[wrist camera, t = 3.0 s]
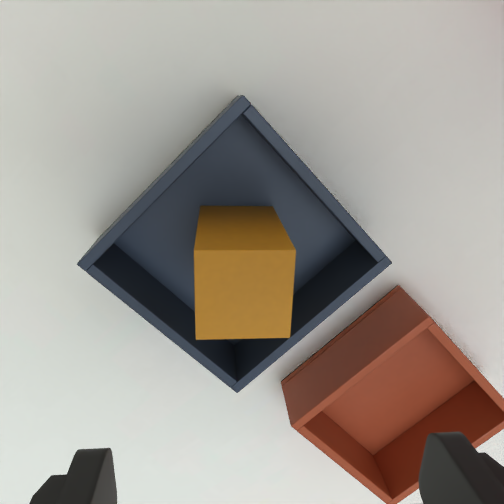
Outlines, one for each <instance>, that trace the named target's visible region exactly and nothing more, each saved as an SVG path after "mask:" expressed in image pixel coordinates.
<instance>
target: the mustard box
mask: <svg viewBox="0 0 504 504" xmlns="http://www.w3.org/2000/svg"><path fill="white" fill-rule="evenodd" d="M295 260H296V249H295V247H294V246H293V244H292V242H291V240H290V238H289V236H288V234H287V232H286V230H285V229H284V227H283V225H282V223H281V221H280V219H279V217H278V215H277V213H276V212H275V210H274V208H273V206H200V211H199V218H198V224H197V231H196V238H195V245H194V289H195V334H196V340H207V339H256V338H290V333H291V318H292V304H293V289H294V275H295Z"/></svg>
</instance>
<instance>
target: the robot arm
mask: <svg viewBox="0 0 504 504" xmlns="http://www.w3.org/2000/svg"><path fill="white" fill-rule="evenodd" d="M418 482H419V490H420V494H421V498H422V501H423V503H424V504H504V467H503V466H502V465H500V464H499V463H498V462H497V461H495V460H494V459H493V458H491V457H490V456H489V455H488V454H486V453H478V452H477V451H476V449H475V448H474V447H473V445H472V444H471V443H470V441H469V440H468V439H467V437H466V436H465V435H464V434H463V433H461V432H439V433H430V434H429V435H428V436H427V439H426V444H425V448H424V453H423V458H422V463H421V467H420V472H419V479H418ZM30 504H117V490H116V481H115V473H114V465H113V457H112V451H111V449H110V448H100V449H80V450H77V452H76V453H75V455H74V458H73V460H72V463H71V465H70V468H69V470H68V473H67V475H51V476H50V478H49V479H48V480H47V481H46V482H45V483H44V484H43V485H42V486H41V488H40V489H39V490H38V491H37V492H36V493H35V494H34V495H33V497H32V499H31V501H30Z"/></svg>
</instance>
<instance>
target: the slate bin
mask: <svg viewBox="0 0 504 504" xmlns="http://www.w3.org/2000/svg"><path fill="white" fill-rule="evenodd" d="M200 206H273V208H274V210H275V212H276V213H277V215H278V217H279V219H280V221H281V223H282V225H283V227H284V229H285V230H286V232H287V234H288V236H289V238H290V240H291V242H292V244H293V246H294V247H295V249H296V260H295V275H294V289H293V304H292V318H291V333H290V338H256V339H207V340H196V334H195V289H194V245H195V238H196V231H197V224H198V218H199V211H200ZM390 264H392V262H391V261H390V259H389V258H388V257H387V256H386V255H385V254H384V253H383V252H382V250H381V249H380V248H379V247H378V246H377V245H376V244H375V243H374V241H373V240H372V239H371V238H370V237H369V236H368V235H367V234H366V232H365V231H364V230H363V229H362V228H361V227H360V226H359V225H358V223H357V222H356V221H355V220H354V219H353V218H352V217H351V216H350V214H349V213H348V212H347V211H346V210H345V209H344V208H343V207H342V205H341V204H340V203H339V202H338V201H337V200H336V199H335V198H334V197H333V195H332V194H331V193H330V192H329V191H328V190H327V189H326V188H325V186H324V185H323V184H322V183H321V182H320V181H319V180H318V179H317V177H316V176H315V175H314V174H313V173H312V172H311V171H310V170H309V168H308V167H307V166H306V165H305V164H304V163H303V162H302V161H301V159H300V158H299V157H298V156H297V155H296V154H295V153H294V152H293V150H292V149H291V148H290V147H289V146H288V145H287V144H286V143H285V141H284V140H283V139H282V138H281V137H280V136H279V135H278V134H277V132H276V131H275V130H274V129H273V128H272V127H271V126H270V125H269V123H268V122H267V121H266V120H265V119H264V118H263V117H262V116H261V114H260V113H259V112H258V111H257V110H256V109H255V108H254V107H253V105H251V103H250V102H249V101H248V100H247V99H246V98H245V96H243V95H240V96H237V97H236V98H235V99H234V100H233V101H232V102H231V103H230V104H229V105H228V106H227V107H226V108H225V109H224V110H223V111H222V112H221V113H220V114H219V115H218V116H217V117H216V118H215V119H214V120H213V121H212V122H211V123H210V124H209V126H208V127H207V128H206V129H205V130H204V131H203V132H202V133H201V134H200V135H199V136H198V137H197V138H196V139H195V140H194V141H193V142H192V143H191V144H190V145H189V146H188V147H187V148H186V149H185V150H184V151H183V152H182V153H181V154H180V155H179V156H178V157H177V158H176V159H175V160H174V161H173V162H172V163H171V164H170V165H169V166H168V167H167V168H166V169H165V170H164V172H163V173H162V174H161V175H160V176H159V177H158V178H157V179H156V180H155V181H154V182H153V183H152V184H151V185H150V186H149V187H148V188H147V189H146V190H145V191H144V192H143V193H142V194H141V195H140V196H139V197H138V198H137V199H136V200H135V201H134V202H133V203H132V204H131V205H130V206H129V207H128V208H127V209H126V210H125V211H124V212H123V213H122V214H121V215H120V217H119V218H118V219H117V220H116V221H115V222H114V223H113V224H112V225H111V226H110V227H109V228H108V229H107V230H106V231H105V232H104V233H103V234H102V235H101V236H100V237H99V238H98V239H97V241H96V242H95V243H94V244H93V245H92V246H91V248H90V249H89V250H88V251H87V252H86V254H85V255H84V256H83V257H82V258H81V260H80V261H79V262H78V263H77V265H78V266H80V267H81V268H82V269H83V270H85V271H86V270H87V271H86V272H87V273H88V274H89V275H91V276H92V277H93V278H94V279H96V280H97V281H98V282H99V283H101V284H102V285H103V286H104V287H106V288H107V289H108V290H109V291H111V292H112V293H113V294H114V295H116V296H117V297H118V298H119V299H121V300H122V301H123V302H124V303H126V304H127V305H128V306H129V307H130V308H132V309H133V310H134V311H135V312H137V313H138V314H139V315H140V316H142V317H143V318H144V319H145V320H147V321H148V322H149V323H150V324H152V325H153V326H154V327H155V328H157V329H158V330H159V331H160V332H162V333H163V334H164V335H165V336H167V337H168V338H169V339H170V340H172V341H173V342H174V343H175V344H177V345H178V346H179V347H180V348H182V349H183V350H184V351H185V352H187V353H188V354H189V355H190V356H192V357H193V358H194V359H195V360H197V361H198V362H199V363H200V364H202V365H203V366H204V367H205V368H207V369H208V370H209V371H210V372H212V373H213V374H214V375H215V376H217V377H218V378H219V379H220V380H222V381H223V382H224V383H225V384H227V385H228V386H229V387H231V388H232V389H233V390H234V391H235V392H237V393H238V392H239V391H240V390H241V389H243V388H244V387H245V386H246V385H247V384H249V383H250V382H251V381H252V380H253V379H255V378H256V377H257V376H258V375H259V374H261V373H262V372H263V371H264V370H265V369H266V368H268V367H269V366H270V365H271V364H272V363H274V362H275V361H276V360H277V359H278V358H280V357H281V356H282V355H283V354H284V353H286V352H287V351H288V350H289V349H290V348H291V347H293V346H294V345H295V344H296V343H297V342H299V341H300V340H301V339H302V338H303V337H305V336H306V335H307V334H308V333H309V332H311V331H312V330H313V329H314V328H315V327H316V326H318V325H319V324H320V323H321V322H322V321H324V320H325V319H326V318H327V317H328V316H330V315H331V314H332V313H333V312H334V311H336V310H337V309H338V308H339V307H340V306H342V305H343V304H344V303H345V302H346V301H347V300H349V299H350V298H351V297H352V296H353V295H355V294H356V293H357V292H358V291H359V290H361V289H362V288H363V287H364V286H365V285H367V284H368V283H369V282H370V281H371V280H372V279H374V278H375V277H376V276H377V275H378V274H380V273H381V272H382V271H383V270H384V269H386V268H387V267H388V266H389V265H390Z"/></svg>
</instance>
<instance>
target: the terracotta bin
mask: <svg viewBox="0 0 504 504" xmlns="http://www.w3.org/2000/svg"><path fill="white" fill-rule="evenodd" d="M281 385H282V389H283V393H284V398H285V402H286V406H287V411H288V415H289V420H290V424H291V426H292V427H293V428H294V429H295V430H297V431H298V432H299V433H300V434H301V435H303V436H304V437H305V438H306V439H308V440H309V441H310V442H311V443H312V444H314V445H315V446H316V447H317V448H319V449H320V450H321V451H322V452H324V453H325V454H326V455H327V456H328V457H330V458H331V459H332V460H333V461H335V462H336V463H337V464H338V465H340V466H341V467H342V468H343V469H344V470H346V471H347V472H348V473H349V474H351V475H352V476H353V477H354V478H355V479H357V480H358V481H359V482H360V483H362V484H363V485H364V486H365V487H367V488H368V489H369V490H370V491H371V492H373V493H374V494H375V495H376V496H378V497H379V498H380V499H381V500H383V501H384V502H385V503H387V504H397V503H398V502H400V501H401V500H403V499H404V498H406V497H407V496H408V495H410V494H411V493H413V492H414V491H416V490H417V489H418V488H419V482H418V479H419V472H420V467H421V463H422V458H423V453H424V448H425V444H426V439H427V436H428V435H429V434H430V433H439V432H461V433H463V434H464V435H465V436H466V437H467V439H468V440H469V441H470V443H471V444H472V445H473V447H474V448H477V447H478V446H480V445H481V444H482V443H484V442H485V441H487V440H488V439H490V438H491V437H492V436H494V435H495V434H497V433H498V432H500V431H501V430H502V429H504V398H503V397H502V396H501V395H500V394H499V393H498V392H497V391H496V389H495V388H494V387H493V386H492V385H491V384H490V383H489V382H488V381H487V379H486V378H485V377H484V376H483V375H482V374H481V373H480V372H479V371H478V369H477V368H476V367H475V366H474V365H473V364H472V363H471V362H470V361H469V359H468V358H467V357H466V356H465V355H464V354H463V353H462V352H461V351H460V349H459V348H458V347H457V346H456V345H455V344H454V343H453V342H452V341H451V340H450V338H449V337H448V336H447V335H446V334H445V333H444V332H443V331H442V330H441V328H440V327H439V326H438V325H437V324H436V323H435V322H434V321H433V320H432V318H431V317H430V316H429V315H428V314H427V313H426V312H425V311H424V310H423V309H422V308H421V307H420V306H419V305H418V304H417V303H416V302H415V301H414V300H413V299H412V298H411V297H410V296H409V295H408V294H407V293H406V292H405V291H404V290H403V289H402V288H401V287H400V286H399V285H398V286H397V287H395V288H394V289H393V290H392V291H391V292H389V293H388V294H387V295H386V296H385V297H383V298H382V299H381V300H380V301H378V302H377V303H376V304H375V305H374V306H372V307H371V308H370V309H369V310H368V311H366V312H365V313H364V314H363V315H362V316H360V317H359V318H358V319H357V320H355V321H354V322H353V323H352V324H351V325H349V326H348V327H347V328H346V329H345V330H343V331H342V332H341V333H340V334H338V335H337V336H336V337H335V338H334V339H332V340H331V341H330V342H329V343H328V344H326V345H325V346H324V347H323V348H321V349H320V350H319V351H318V352H317V353H315V354H314V355H313V356H312V357H311V358H309V359H308V360H307V361H306V362H304V363H303V364H302V365H301V366H300V367H298V368H297V369H296V370H295V371H294V372H292V373H291V374H290V375H289V376H287V377H286V378H285V379H284V380H283V381H281Z"/></svg>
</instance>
